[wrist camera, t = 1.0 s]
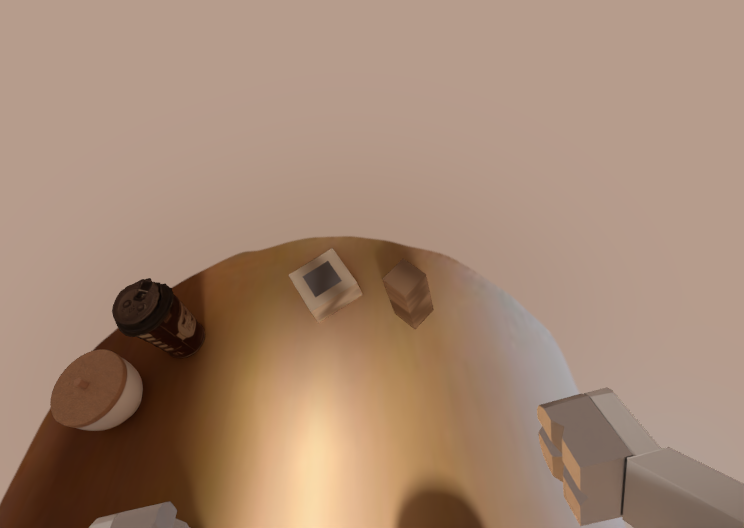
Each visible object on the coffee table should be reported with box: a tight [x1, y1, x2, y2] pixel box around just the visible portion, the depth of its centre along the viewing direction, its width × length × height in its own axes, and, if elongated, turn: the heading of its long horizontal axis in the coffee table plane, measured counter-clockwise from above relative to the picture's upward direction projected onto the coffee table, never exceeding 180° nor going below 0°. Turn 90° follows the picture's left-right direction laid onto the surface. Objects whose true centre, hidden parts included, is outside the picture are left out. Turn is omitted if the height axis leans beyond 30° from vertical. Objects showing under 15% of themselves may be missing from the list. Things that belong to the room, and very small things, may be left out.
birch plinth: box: [289, 248, 363, 323], centre depth 70 cm, size 8×8×4 cm
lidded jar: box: [51, 349, 143, 431], centre depth 64 cm, size 11×11×9 cm
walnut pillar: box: [382, 259, 433, 329], centre depth 62 cm, size 4×4×10 cm
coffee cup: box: [112, 278, 205, 358], centre depth 67 cm, size 9×8×13 cm
